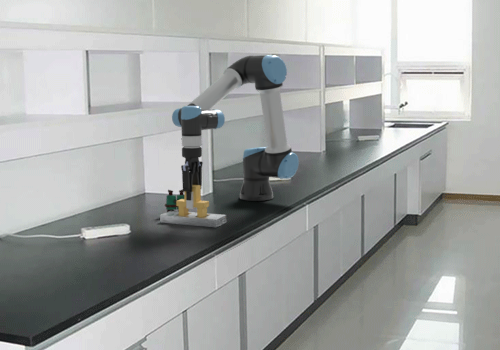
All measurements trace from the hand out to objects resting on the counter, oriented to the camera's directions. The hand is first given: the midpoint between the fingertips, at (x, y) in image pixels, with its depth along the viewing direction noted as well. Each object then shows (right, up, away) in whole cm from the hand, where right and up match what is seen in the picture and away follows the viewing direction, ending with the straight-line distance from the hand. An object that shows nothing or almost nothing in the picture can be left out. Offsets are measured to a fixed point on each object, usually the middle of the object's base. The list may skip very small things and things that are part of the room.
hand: (192, 207), depth 275 cm
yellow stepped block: (0, -4, +1) cm, 4 cm away
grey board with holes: (0, -6, +1) cm, 6 cm away
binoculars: (-8, -4, +17) cm, 20 cm away
